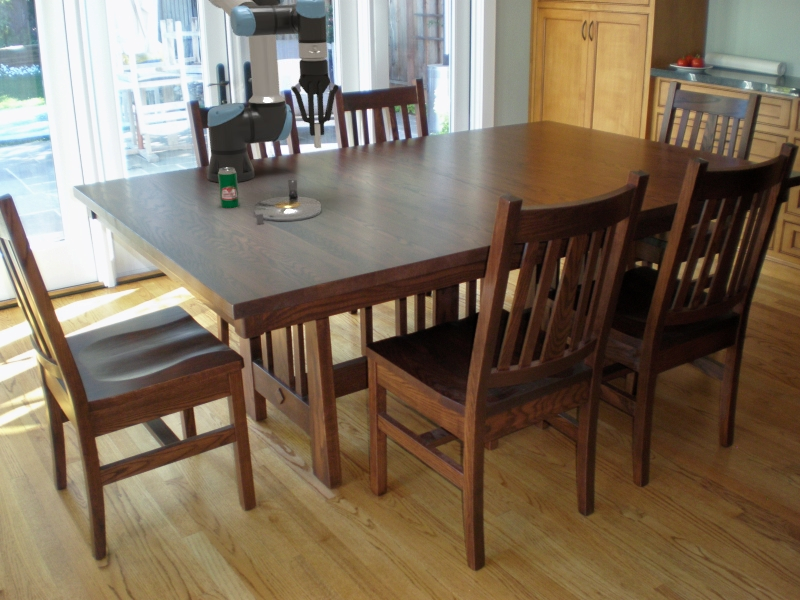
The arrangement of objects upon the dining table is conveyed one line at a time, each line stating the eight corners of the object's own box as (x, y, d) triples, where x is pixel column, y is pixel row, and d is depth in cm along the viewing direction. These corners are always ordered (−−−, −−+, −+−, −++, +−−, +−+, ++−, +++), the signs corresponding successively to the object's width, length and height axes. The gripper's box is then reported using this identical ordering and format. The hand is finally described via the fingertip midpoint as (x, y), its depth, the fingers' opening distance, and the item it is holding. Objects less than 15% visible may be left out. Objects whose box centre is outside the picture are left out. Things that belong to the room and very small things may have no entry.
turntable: (252, 206, 233) (250, 181, 230) (315, 201, 237) (314, 177, 234) (258, 223, 217) (256, 197, 214) (326, 218, 221) (325, 192, 218)
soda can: (222, 213, 231) (218, 171, 226) (220, 209, 235) (217, 167, 231) (240, 212, 232) (236, 170, 228) (238, 207, 237) (235, 166, 232)
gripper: (291, 61, 215) (296, 151, 224) (340, 59, 218) (343, 148, 227) (287, 58, 222) (292, 146, 231) (334, 56, 225) (338, 143, 234)
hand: (317, 146), depth 229 cm, fingers closed
